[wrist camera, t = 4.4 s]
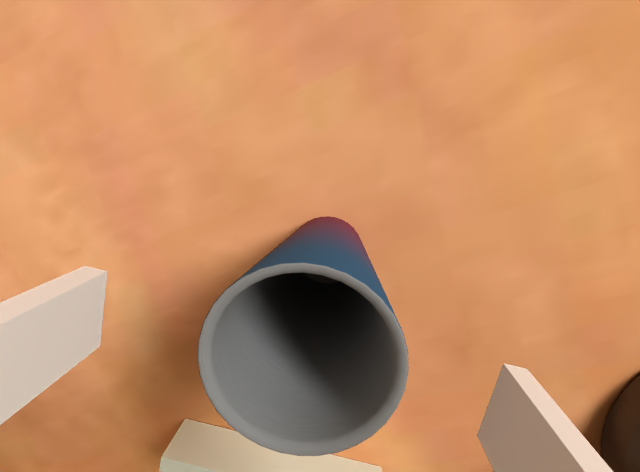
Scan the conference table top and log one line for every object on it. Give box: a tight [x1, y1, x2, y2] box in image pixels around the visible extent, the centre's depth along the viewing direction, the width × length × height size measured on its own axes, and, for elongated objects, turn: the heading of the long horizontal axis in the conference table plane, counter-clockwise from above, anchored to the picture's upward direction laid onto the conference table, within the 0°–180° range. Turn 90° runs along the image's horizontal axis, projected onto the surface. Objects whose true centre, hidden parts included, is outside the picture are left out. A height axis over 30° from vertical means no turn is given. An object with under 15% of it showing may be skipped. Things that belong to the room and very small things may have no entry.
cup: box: [198, 217, 408, 456], centre depth 20 cm, size 7×7×15 cm
